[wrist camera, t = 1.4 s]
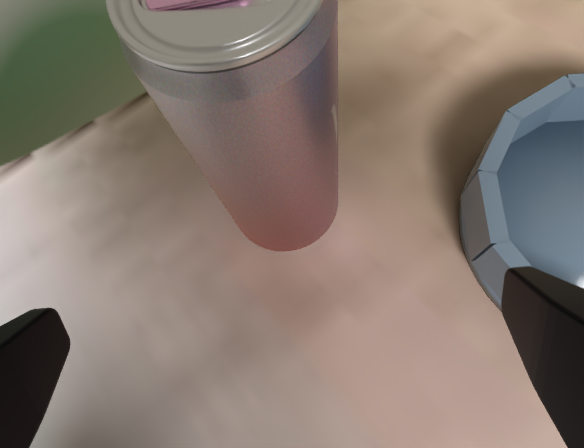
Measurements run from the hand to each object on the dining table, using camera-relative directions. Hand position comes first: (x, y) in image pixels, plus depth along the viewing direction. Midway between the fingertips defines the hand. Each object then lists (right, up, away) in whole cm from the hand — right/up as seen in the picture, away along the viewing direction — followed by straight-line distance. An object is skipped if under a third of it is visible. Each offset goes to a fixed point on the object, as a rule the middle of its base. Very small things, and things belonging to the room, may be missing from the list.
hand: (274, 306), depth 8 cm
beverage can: (0, +3, +16) cm, 16 cm away
